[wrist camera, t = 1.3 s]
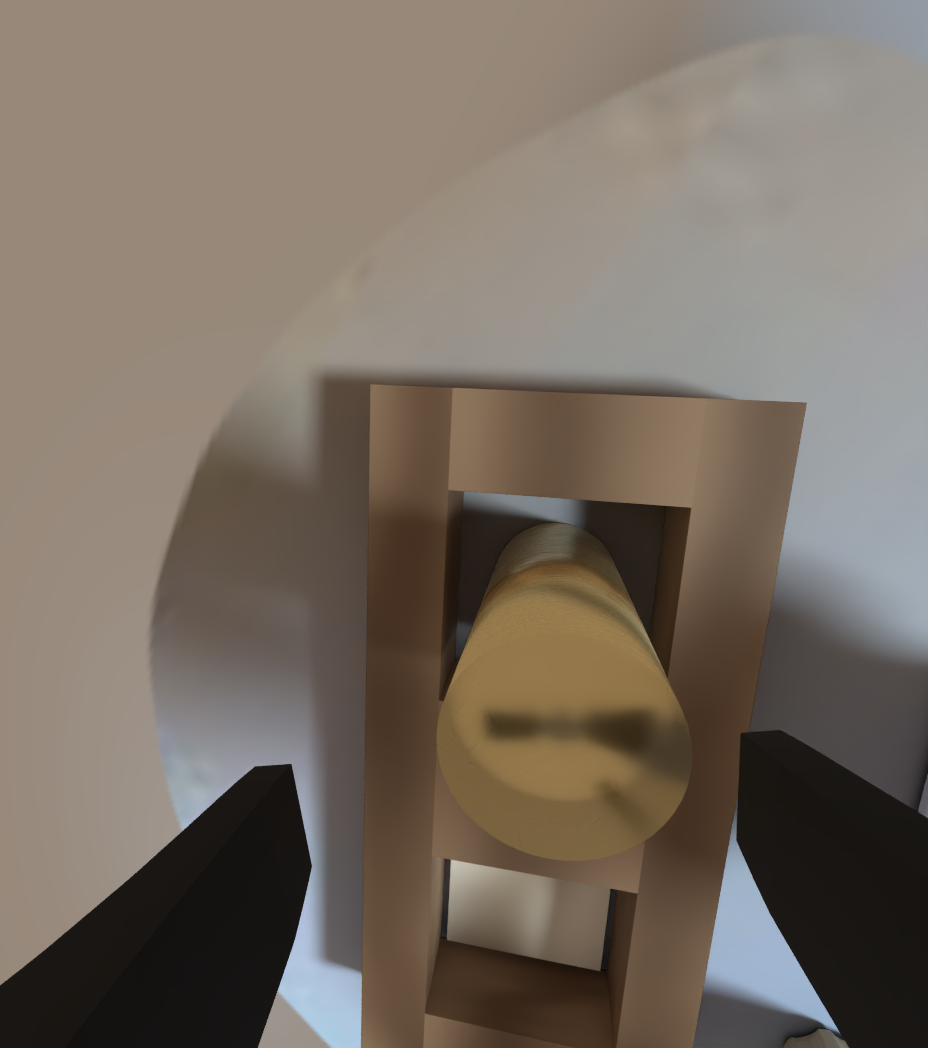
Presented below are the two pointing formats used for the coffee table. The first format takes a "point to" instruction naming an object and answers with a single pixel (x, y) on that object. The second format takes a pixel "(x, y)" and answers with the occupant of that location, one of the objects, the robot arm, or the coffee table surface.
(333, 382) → the coffee table surface
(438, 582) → the mount block
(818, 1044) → the handle
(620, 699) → the peg
